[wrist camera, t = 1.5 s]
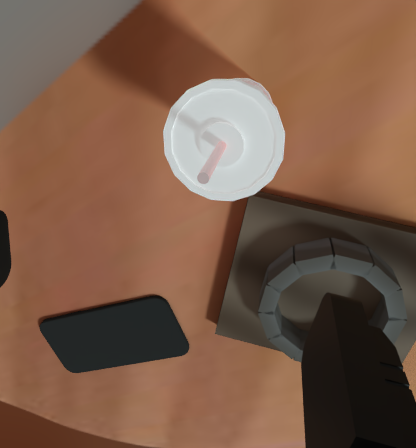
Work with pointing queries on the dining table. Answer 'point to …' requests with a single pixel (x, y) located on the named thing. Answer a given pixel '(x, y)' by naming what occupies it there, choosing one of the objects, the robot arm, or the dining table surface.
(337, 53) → the dining table surface
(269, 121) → the beverage cup
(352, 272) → the ring holder
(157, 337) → the phone
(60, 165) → the dining table surface
